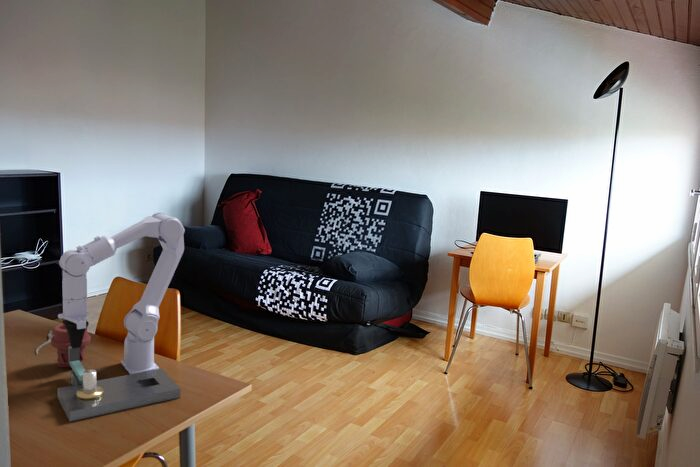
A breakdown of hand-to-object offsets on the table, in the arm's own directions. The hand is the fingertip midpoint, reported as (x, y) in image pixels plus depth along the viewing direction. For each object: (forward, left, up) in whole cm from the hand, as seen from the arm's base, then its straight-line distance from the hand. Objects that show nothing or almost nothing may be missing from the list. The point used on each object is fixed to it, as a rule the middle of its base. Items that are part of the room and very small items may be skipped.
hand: (75, 346), depth 155 cm
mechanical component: (-11, +1, -10) cm, 15 cm away
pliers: (-31, -1, -10) cm, 33 cm away
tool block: (+12, +7, -9) cm, 16 cm away
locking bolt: (+3, 0, -6) cm, 6 cm away
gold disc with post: (+15, 0, -9) cm, 18 cm away
